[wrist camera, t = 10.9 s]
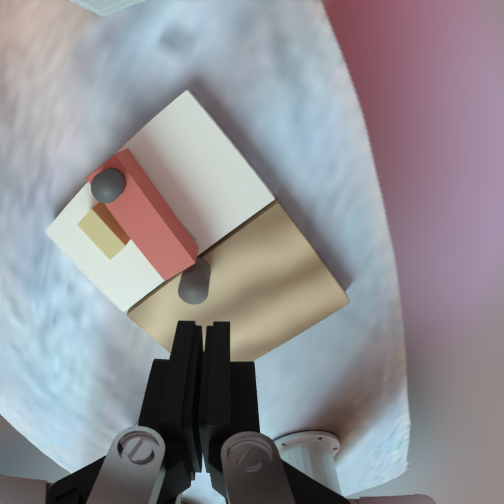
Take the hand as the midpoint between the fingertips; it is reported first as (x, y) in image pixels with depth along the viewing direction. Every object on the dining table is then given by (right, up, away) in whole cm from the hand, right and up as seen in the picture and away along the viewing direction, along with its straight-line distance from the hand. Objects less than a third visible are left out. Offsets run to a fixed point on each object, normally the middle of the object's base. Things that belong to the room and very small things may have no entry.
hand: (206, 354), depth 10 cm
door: (-7, +7, +17) cm, 20 cm away
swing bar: (-7, +7, +15) cm, 18 cm away
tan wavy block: (0, -1, +21) cm, 21 cm away
